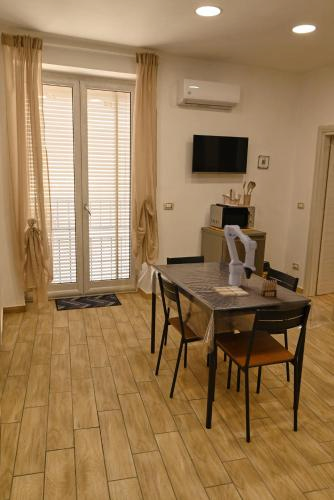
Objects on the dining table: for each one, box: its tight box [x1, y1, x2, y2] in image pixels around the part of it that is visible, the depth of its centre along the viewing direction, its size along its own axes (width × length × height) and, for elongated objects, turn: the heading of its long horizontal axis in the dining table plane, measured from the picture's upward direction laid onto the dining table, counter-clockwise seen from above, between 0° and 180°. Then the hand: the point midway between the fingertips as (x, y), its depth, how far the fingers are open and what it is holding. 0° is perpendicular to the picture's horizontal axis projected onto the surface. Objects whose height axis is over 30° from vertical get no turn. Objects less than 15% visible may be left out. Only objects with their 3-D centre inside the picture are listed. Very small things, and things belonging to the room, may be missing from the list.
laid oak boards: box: [212, 286, 238, 298], centre depth 264 cm, size 18×9×2 cm, turn 15°
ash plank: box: [226, 286, 250, 297], centre depth 266 cm, size 18×8×2 cm, turn 15°
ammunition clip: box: [260, 279, 278, 298], centre depth 260 cm, size 11×2×12 cm, turn 109°
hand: (248, 278), depth 269 cm, fingers closed
